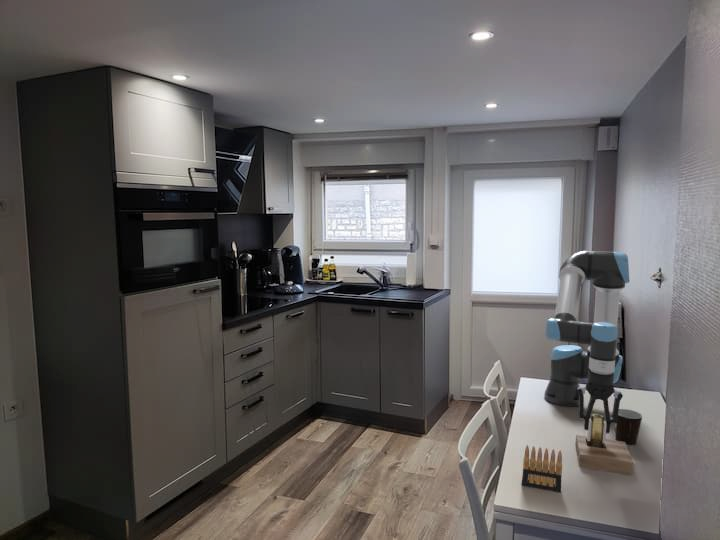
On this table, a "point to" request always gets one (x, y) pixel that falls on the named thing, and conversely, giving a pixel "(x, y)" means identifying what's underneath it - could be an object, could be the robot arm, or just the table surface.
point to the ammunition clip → (542, 470)
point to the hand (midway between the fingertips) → (595, 440)
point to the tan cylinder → (596, 430)
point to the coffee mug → (628, 426)
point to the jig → (604, 456)
